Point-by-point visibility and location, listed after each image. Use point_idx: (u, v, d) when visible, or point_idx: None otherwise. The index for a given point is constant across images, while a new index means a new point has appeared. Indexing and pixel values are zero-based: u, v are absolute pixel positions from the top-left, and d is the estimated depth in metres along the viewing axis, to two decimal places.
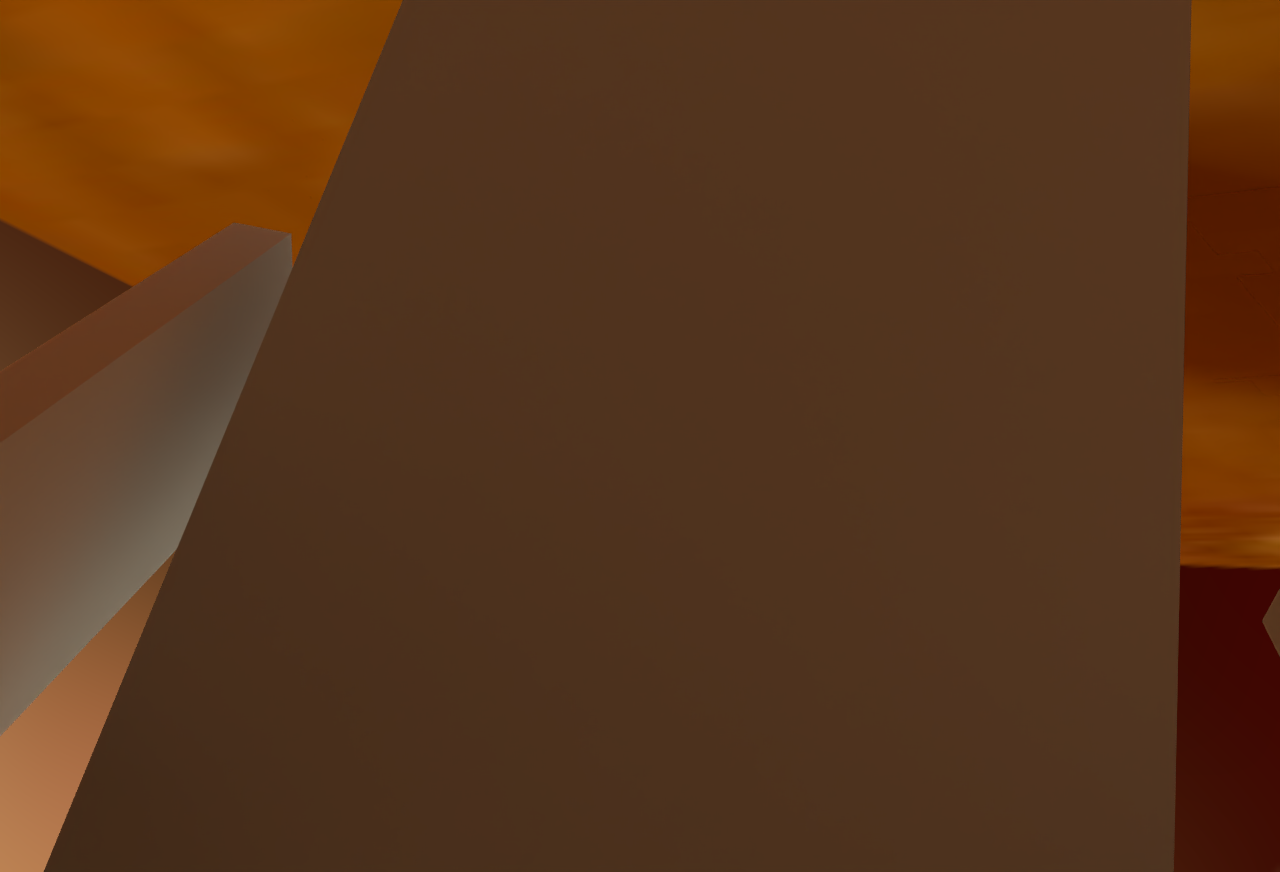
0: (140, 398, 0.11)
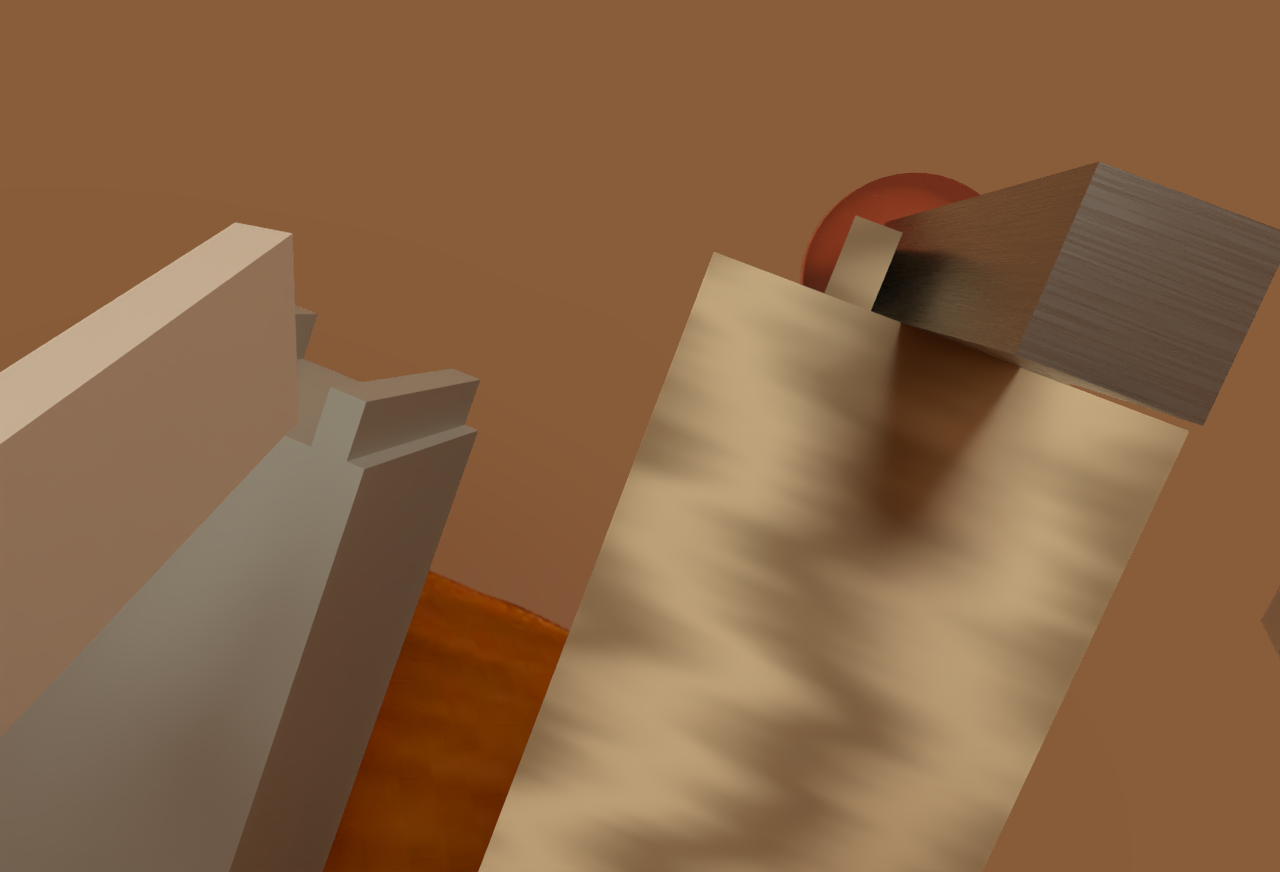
0: (143, 398, 0.11)
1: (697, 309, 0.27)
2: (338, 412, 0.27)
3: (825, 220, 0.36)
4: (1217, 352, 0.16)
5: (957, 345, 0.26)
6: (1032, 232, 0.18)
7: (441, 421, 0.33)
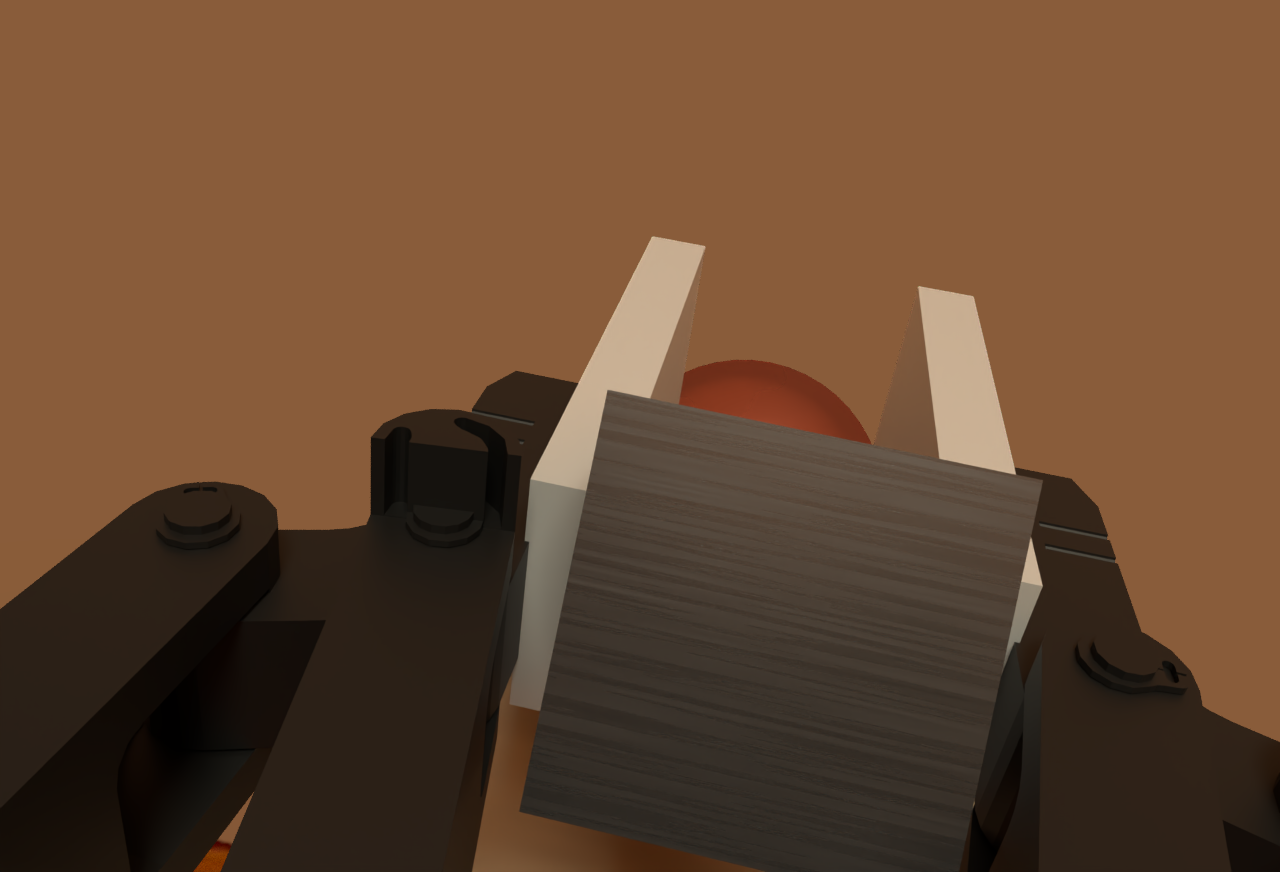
0: (661, 393, 0.12)
1: None
2: None
3: None
4: (943, 751, 0.07)
5: None
6: None
7: None
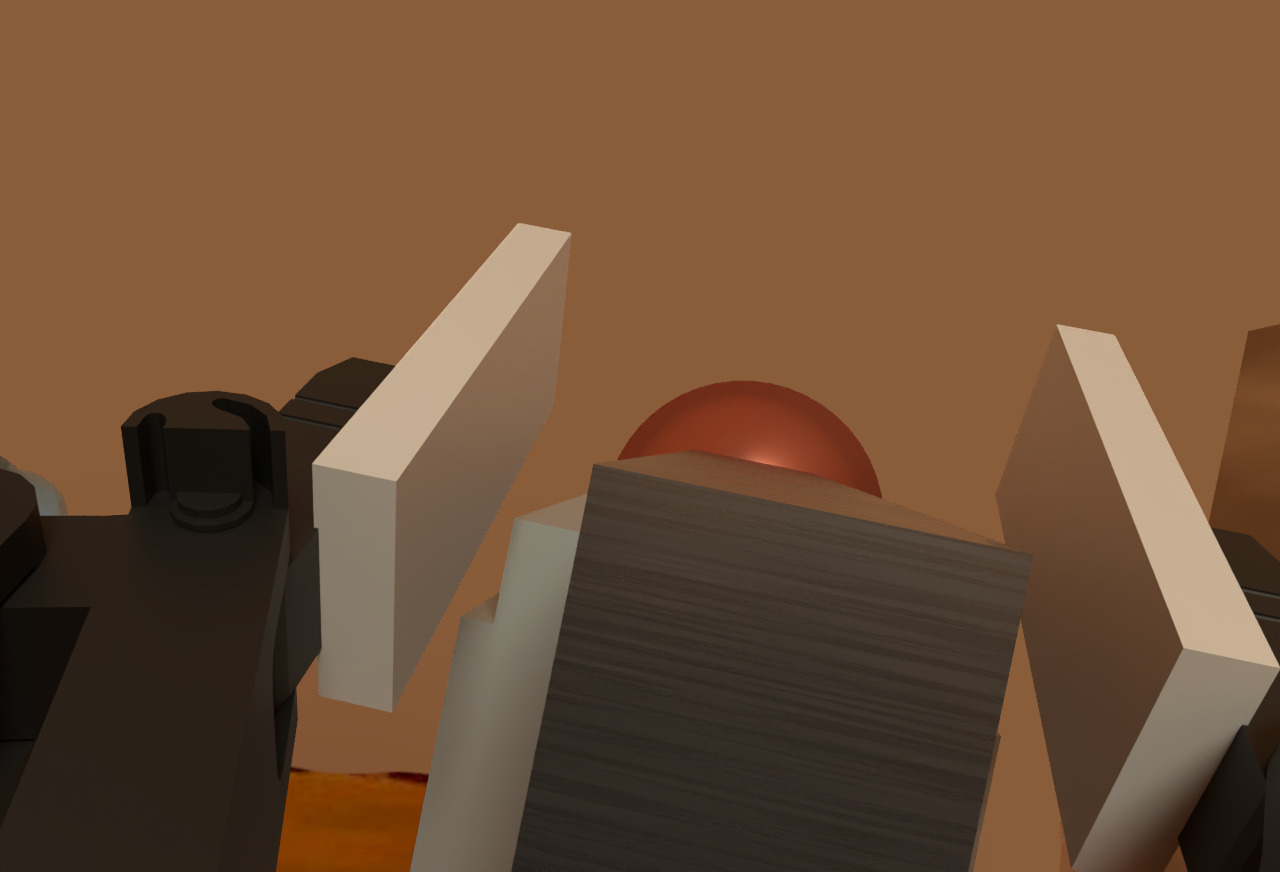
0: (497, 380, 0.12)
1: None
2: None
3: (619, 459, 0.28)
4: (935, 828, 0.07)
5: None
6: None
7: None
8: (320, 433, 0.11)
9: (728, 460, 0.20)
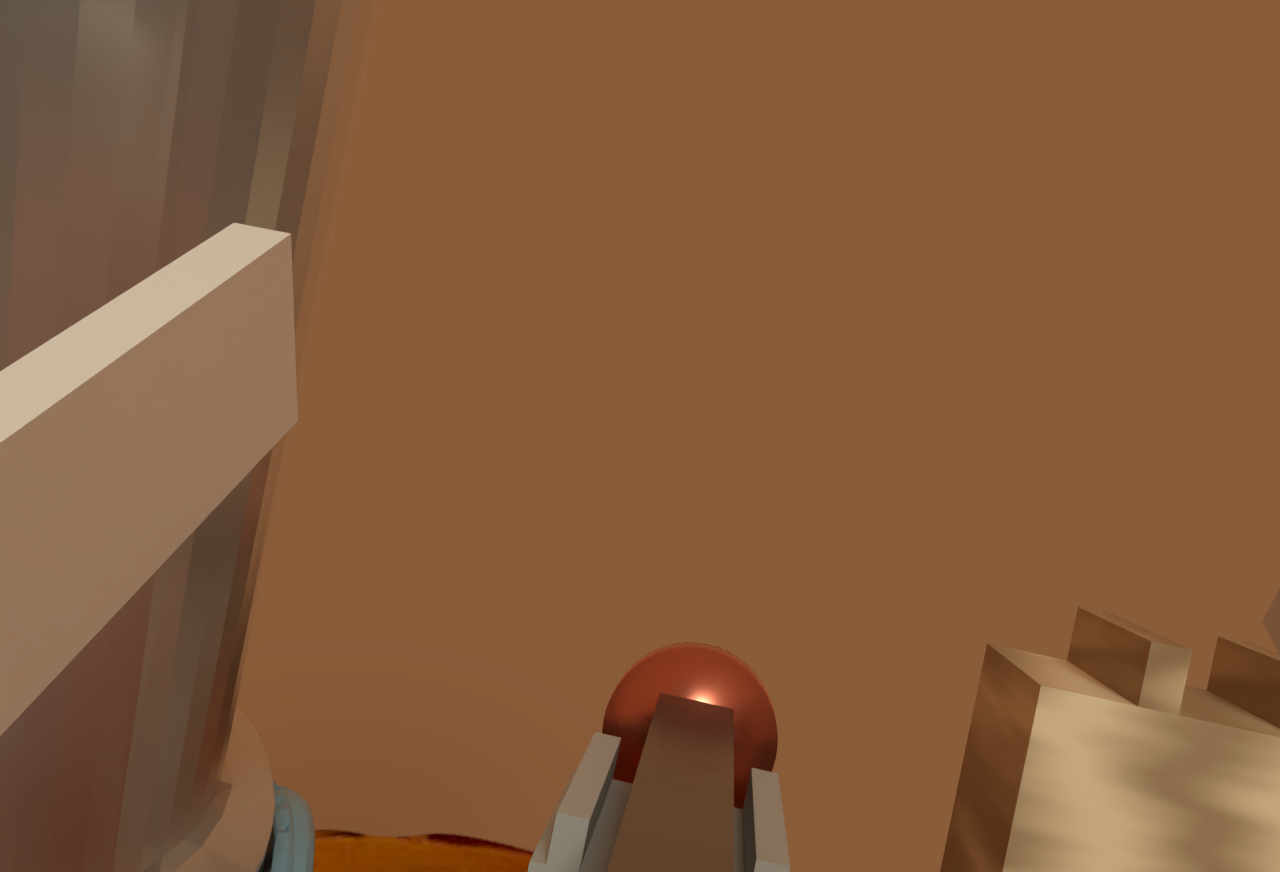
0: (142, 398, 0.11)
1: (1035, 733, 0.33)
2: None
3: (611, 697, 0.44)
4: None
5: (1254, 733, 0.32)
6: None
7: None
8: None
9: (671, 744, 0.37)
